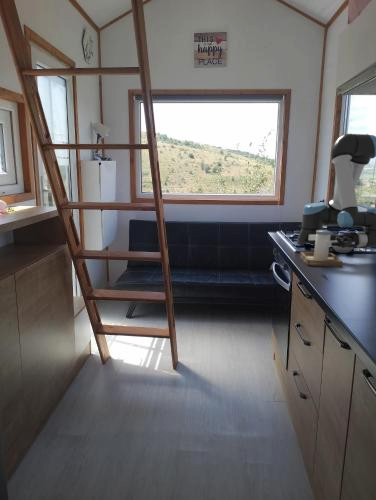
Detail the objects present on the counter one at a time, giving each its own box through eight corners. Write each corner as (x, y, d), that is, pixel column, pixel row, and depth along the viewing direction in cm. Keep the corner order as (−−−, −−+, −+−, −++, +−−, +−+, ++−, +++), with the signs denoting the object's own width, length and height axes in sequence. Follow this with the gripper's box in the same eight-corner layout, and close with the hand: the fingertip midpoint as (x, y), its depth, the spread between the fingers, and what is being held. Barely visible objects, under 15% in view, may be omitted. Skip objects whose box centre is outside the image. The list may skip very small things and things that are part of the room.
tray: (299, 256, 197) (300, 251, 197) (332, 258, 196) (332, 253, 196) (307, 265, 182) (307, 260, 181) (342, 267, 181) (342, 261, 180)
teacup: (354, 254, 204) (356, 240, 202) (332, 253, 206) (334, 238, 204) (349, 248, 218) (351, 234, 216) (328, 247, 220) (330, 233, 218)
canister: (310, 257, 191) (313, 229, 188) (322, 257, 193) (325, 229, 189) (318, 261, 185) (321, 232, 181) (330, 261, 186) (334, 232, 183)
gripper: (371, 253, 180) (330, 254, 175) (338, 241, 203) (302, 242, 198) (373, 237, 178) (333, 238, 173) (340, 227, 202) (303, 227, 196)
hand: (316, 240), depth 186 cm, fingers open, 13 cm apart
